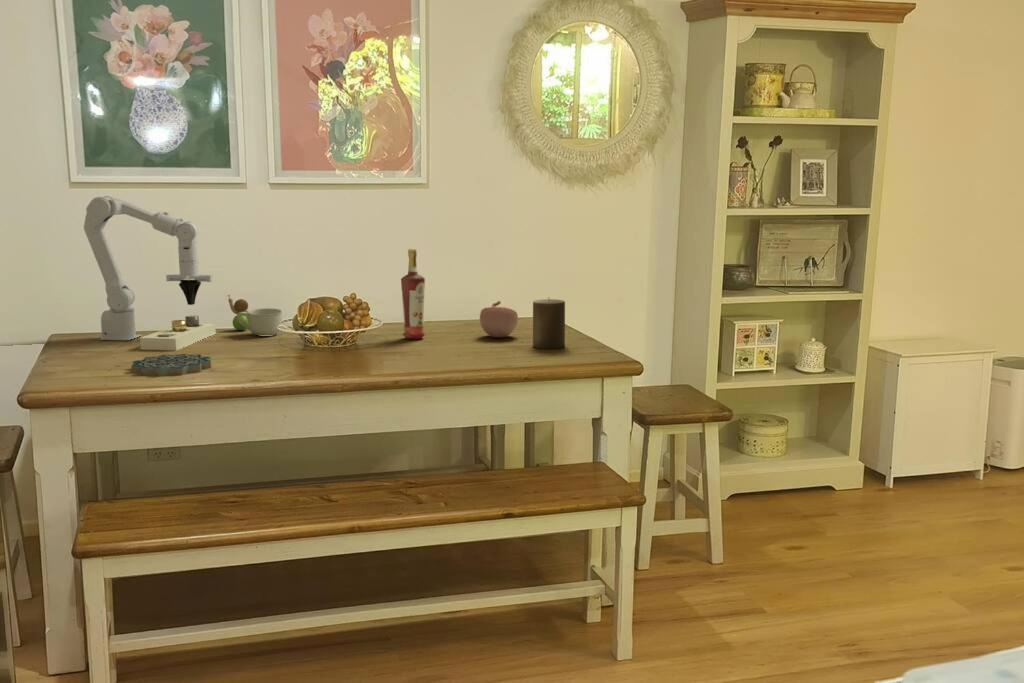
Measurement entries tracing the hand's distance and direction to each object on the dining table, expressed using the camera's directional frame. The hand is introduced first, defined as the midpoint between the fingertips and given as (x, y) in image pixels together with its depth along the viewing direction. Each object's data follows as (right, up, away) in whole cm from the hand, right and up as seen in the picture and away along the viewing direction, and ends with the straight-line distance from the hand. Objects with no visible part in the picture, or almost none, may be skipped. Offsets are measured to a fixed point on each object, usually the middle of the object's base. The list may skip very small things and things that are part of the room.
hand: (191, 304), depth 302 cm
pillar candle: (+112, -13, -13) cm, 113 cm away
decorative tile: (+10, -19, -45) cm, 50 cm away
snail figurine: (+12, -8, +13) cm, 20 cm away
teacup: (+21, -10, +5) cm, 23 cm away
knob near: (-2, -13, -16) cm, 20 cm away
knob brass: (-1, -8, -8) cm, 11 cm away
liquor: (+70, -11, -1) cm, 71 cm away
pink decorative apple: (+97, -11, +2) cm, 97 cm away
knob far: (0, -7, +1) cm, 7 cm away
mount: (-1, -12, -7) cm, 14 cm away
